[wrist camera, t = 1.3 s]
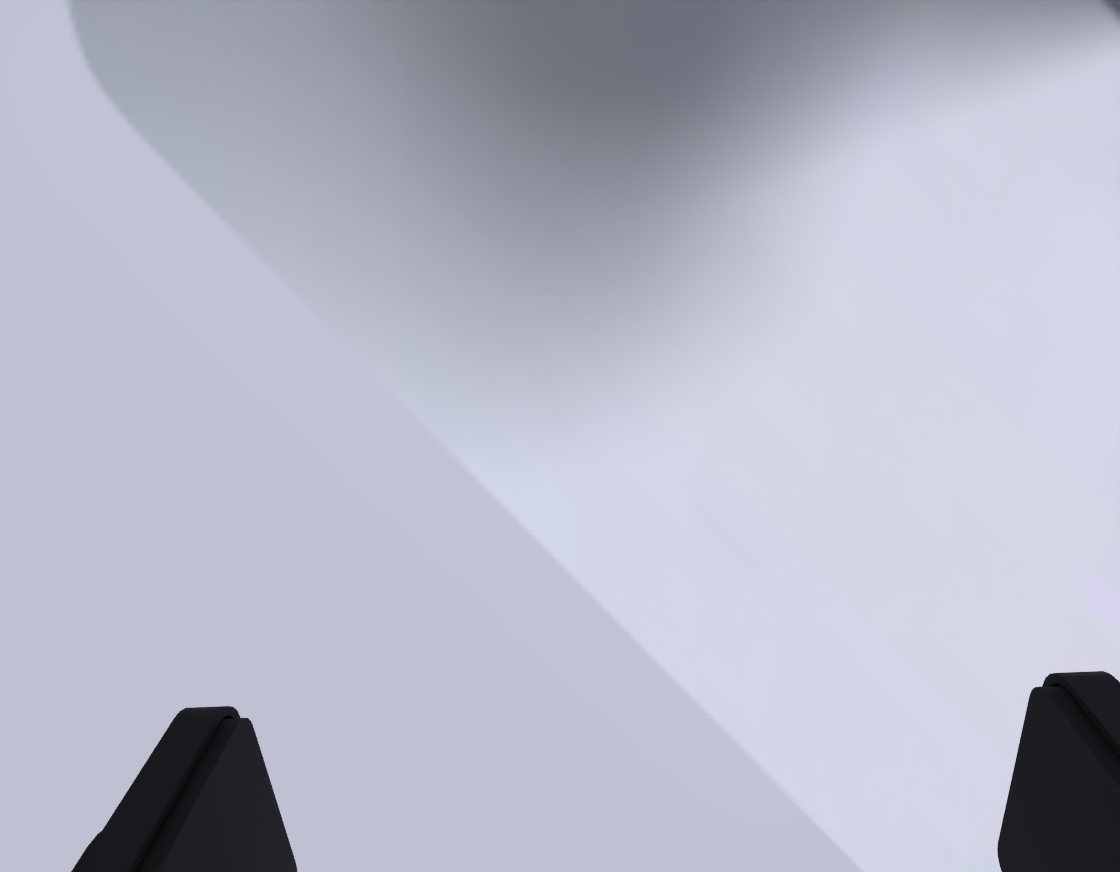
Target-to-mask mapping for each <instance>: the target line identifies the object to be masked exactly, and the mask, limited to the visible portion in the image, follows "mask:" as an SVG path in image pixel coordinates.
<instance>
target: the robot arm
mask: <svg viewBox="0 0 1120 872" xmlns="http://www.w3.org/2000/svg"><path fill="white" fill-rule="evenodd" d="M998 859H999V864H1000V867H1001V871H1002V872H1120V682H1119V681H1118V680H1117V679H1115V678H1114V677H1113V676H1112V675H1111V674H1109V673H1106V672H1104V671H1098V672H1073V673H1054V674H1049V675H1048V676H1047V677H1046V678H1045V681H1044V684H1043V686H1042V687H1035V688H1034V689H1033V690H1032V691H1031V694H1030V697H1029V702H1028V706H1027V711H1026V715H1025V720H1024V725H1023V729H1022V734H1021V739H1020V743H1019V748H1018V753H1017V757H1016V762H1015V767H1014V771H1013V776H1012V781H1011V785H1010V790H1009V795H1008V799H1007V804H1006V809H1005V813H1004V818H1003V822H1002V827H1001V832H1000V836H999V841H998ZM72 872H297V867H296V862H295V859H294V856H293V852H292V849H291V847H290V843H289V840H288V837H287V833H286V830H285V827H284V824H283V821H282V817H281V814H280V811H279V808H278V805H277V801H276V798H275V795H274V792H273V789H272V785H271V782H270V779H269V776H268V773H267V769H266V766H265V763H264V760H263V757H262V754H261V750H260V747H259V744H258V741H257V737H256V734H255V731H254V728H253V725H252V723H251V721H250V720H249V719H248V718H240V716H239V714H238V712H237V710H236V709H235V708H233V707H229V706H225V707H199V708H185V709H183V710H181V711H180V712H179V713H178V714H177V716H176V717H175V718H174V720H173V721H172V723H171V724H170V726H169V728H168V729H167V731H166V732H165V734H164V735H163V737H162V738H161V740H160V741H159V743H158V745H157V746H156V748H155V749H154V751H153V752H152V754H151V756H150V757H149V759H148V760H147V762H146V763H145V765H144V766H143V768H142V769H141V771H140V773H139V774H138V776H137V777H136V779H135V781H134V782H133V784H132V785H131V787H130V788H129V790H128V791H127V793H126V794H125V796H124V798H123V799H122V801H121V803H120V804H119V805H118V807H117V809H116V810H115V812H114V813H113V815H112V816H111V818H110V819H109V821H108V823H107V824H106V826H105V827H104V829H103V830H102V831H101V832H100V833H99V834H97V836H96V837H95V839H93V841H92V842H91V843H90V844H89V846H88V847H87V848H86V850H85V851H84V853H83V855H82V856H81V858H80V859H79V861H78V862H77V864H76V865H75V867H74V869H73V870H72Z"/></svg>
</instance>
